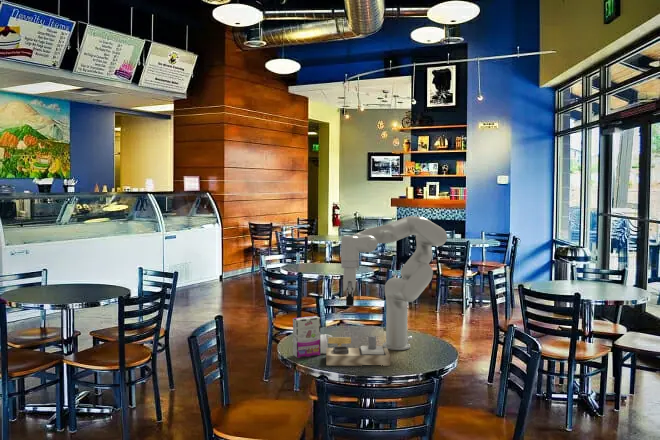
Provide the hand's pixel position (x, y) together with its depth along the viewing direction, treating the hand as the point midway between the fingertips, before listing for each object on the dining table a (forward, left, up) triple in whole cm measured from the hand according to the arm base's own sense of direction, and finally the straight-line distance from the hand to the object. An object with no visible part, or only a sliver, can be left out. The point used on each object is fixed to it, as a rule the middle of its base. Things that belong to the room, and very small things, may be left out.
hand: (350, 303), depth 256 cm
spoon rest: (0, -17, -23) cm, 29 cm away
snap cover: (+1, +14, -18) cm, 23 cm away
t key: (0, -6, -22) cm, 23 cm away
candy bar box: (+15, -12, -22) cm, 29 cm away
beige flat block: (+6, +10, -22) cm, 25 cm away
